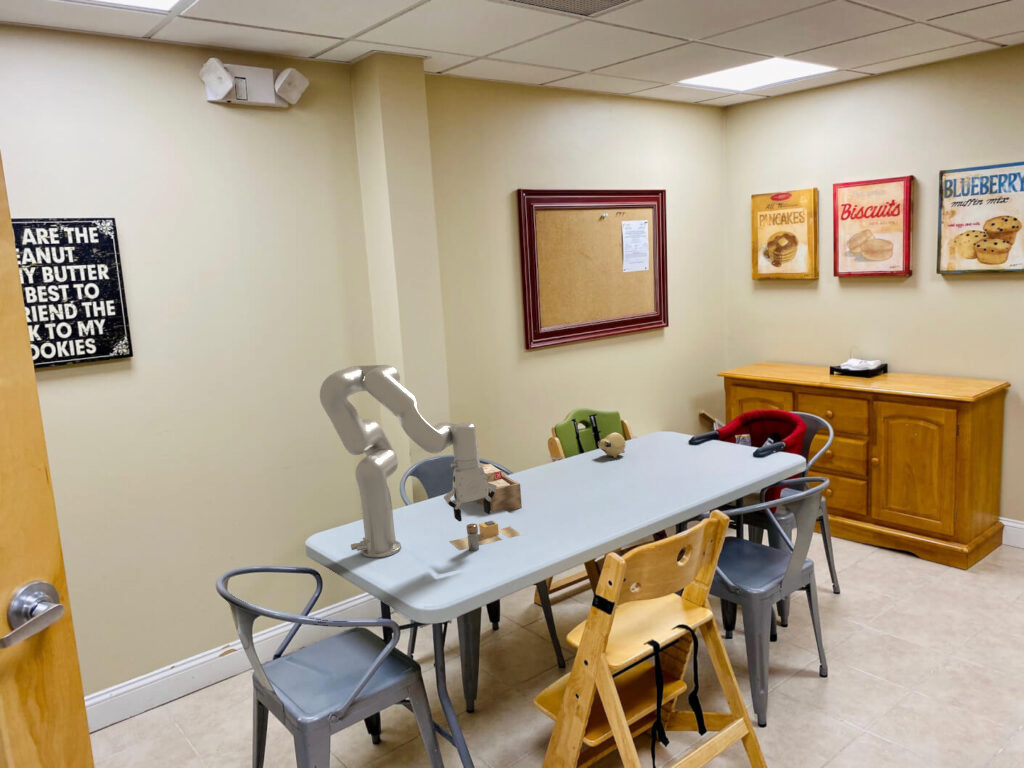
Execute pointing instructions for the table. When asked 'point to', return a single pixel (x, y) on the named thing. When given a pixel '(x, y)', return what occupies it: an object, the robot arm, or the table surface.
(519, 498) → the block caddy
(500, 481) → the stack of blocks
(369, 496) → the robot arm
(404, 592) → the table surface
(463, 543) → the board
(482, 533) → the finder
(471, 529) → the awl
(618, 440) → the toy pig
